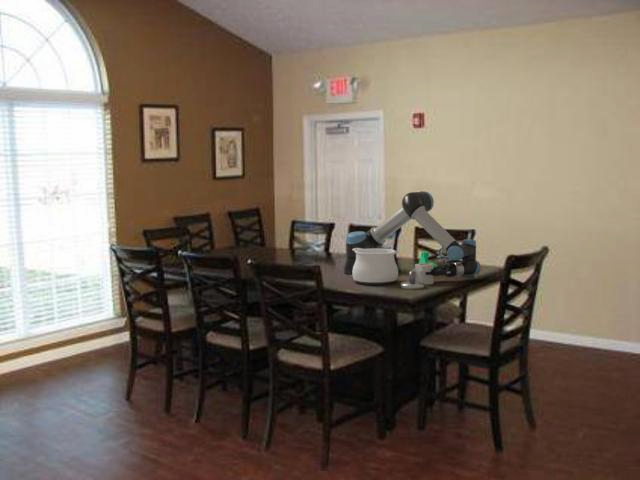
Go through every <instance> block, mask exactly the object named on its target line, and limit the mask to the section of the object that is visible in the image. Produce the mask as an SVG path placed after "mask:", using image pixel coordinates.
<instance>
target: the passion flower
mask: <svg viewBox="0 0 640 480" xmlns="http://www.w3.org/2000/svg"><path fill="white" fill-rule="evenodd" d="M435 254H437V256H436V259H440V262H444V263H445V264H446V263H448V261H452V262H454V260H451V259H449V257H448V255H447V251H446V250H445V249H444V248H443V247H442V246H441V247H440V248H439V249H436V250H435Z"/></svg>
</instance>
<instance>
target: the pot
mask: <svg viewBox="0 0 640 480" xmlns="http://www.w3.org/2000/svg"><path fill="white" fill-rule="evenodd" d="M352 250H353V251H355V250H356V251H355V253H356V261H355V264H354V266H353V271H352V274H351V275H352V278H353V280H354V282H355V283H357V284H360V285H365V286H386V285H391V284H394V283H395V282H396V281H397V279H398V277H399V269H398V266H397V264H396V263H397V262H396V260H395V255H396V254H399V252H400V251H399V250H398V251H396V250H395V249H390V248H381V249H361V248H354V249H352Z"/></svg>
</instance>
